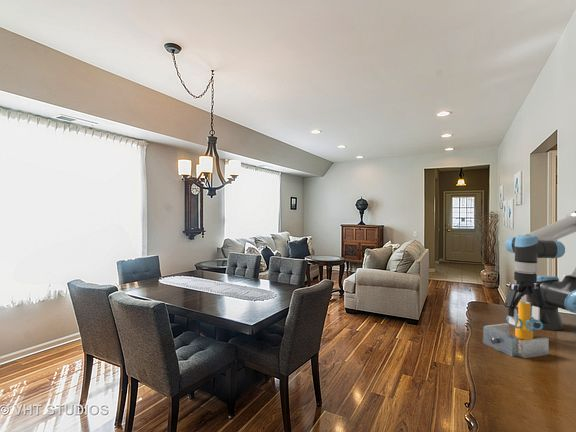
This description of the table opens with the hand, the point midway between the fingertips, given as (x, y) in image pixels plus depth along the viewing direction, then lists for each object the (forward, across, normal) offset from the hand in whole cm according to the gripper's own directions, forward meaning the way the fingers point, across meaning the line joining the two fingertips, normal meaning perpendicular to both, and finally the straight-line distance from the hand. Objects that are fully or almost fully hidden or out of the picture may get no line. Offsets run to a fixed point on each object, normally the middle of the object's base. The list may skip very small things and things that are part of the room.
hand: (524, 323), depth 128 cm
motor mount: (+6, +15, +6) cm, 17 cm away
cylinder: (+6, 0, 0) cm, 6 cm away
